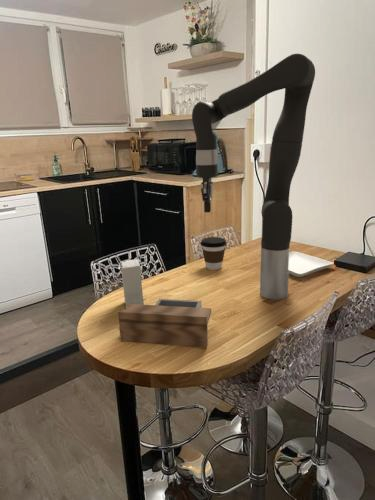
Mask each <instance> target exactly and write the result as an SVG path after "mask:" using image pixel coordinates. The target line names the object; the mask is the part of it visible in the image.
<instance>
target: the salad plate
mask: <svg viewBox="0 0 375 500" xmlns="http://www.w3.org/2000/svg"><path fill="white" fill-rule="evenodd" d="M334 264H335V263H334V262H332V261H329V260H326V259H324V258H320V257H317V256H314V255H309V254H306V253H302V252H299V251H295V250H294V251H289V267H288V270H289V276H294V277H299V278H301V277H304V276H307V275H312V274H313V273H316V272H319V271H323V270H325V269H327V268H330V267H332V266H333V265H334Z"/></svg>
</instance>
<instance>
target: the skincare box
mask: <svg viewBox="0 0 375 500" xmlns="http://www.w3.org/2000/svg"><path fill="white" fill-rule="evenodd" d="M120 265H121V266H120V267H121V276H122V279H121V280H122V287H123V298H124V303H125V309H127V307H128V306H129V305H130V304H140V305H145V303H144V295H143V294H144V293H143V285H142V274H141V265H140V262H139V260H138V259H130V260H122V261H121V262H120Z"/></svg>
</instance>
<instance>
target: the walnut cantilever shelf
mask: <svg viewBox="0 0 375 500" xmlns="http://www.w3.org/2000/svg"><path fill="white" fill-rule="evenodd" d="M117 314H118V315H117V316H118V317H117V318H118V326H119V337H120V338H119V339H120V342H121V343H133V344H146V345H160V346H173V347H189V348H198V349H199V348H201V349H207V348H208V345H209V343H208V341H209V340H208V339H209V337H208V335H209V334H208V324H209V320H210V317H211V315H212V308H210V307H208V308H207V307H201V308H196V307H177V306H159V305H155V304H144V305H140V304H130V305H129V306H128V307H127V308H125V309H119V310H118V311H117Z"/></svg>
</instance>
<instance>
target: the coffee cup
mask: <svg viewBox="0 0 375 500" xmlns="http://www.w3.org/2000/svg"><path fill="white" fill-rule="evenodd" d="M199 244H200V245H201V246H202V253H203V260H204V263H205V267H206V269H207V270H211V271H216V270H217V271H218V270H220V269H221V268H222V266H223V263H224V262H223V261H224V258H225V250H226V245H227V244H228V242H227V241H226V239H225V238H223V237H218V236H210V237H205V238H202V239H201V242H199Z"/></svg>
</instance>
